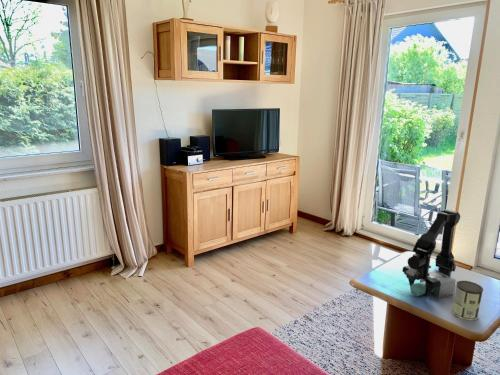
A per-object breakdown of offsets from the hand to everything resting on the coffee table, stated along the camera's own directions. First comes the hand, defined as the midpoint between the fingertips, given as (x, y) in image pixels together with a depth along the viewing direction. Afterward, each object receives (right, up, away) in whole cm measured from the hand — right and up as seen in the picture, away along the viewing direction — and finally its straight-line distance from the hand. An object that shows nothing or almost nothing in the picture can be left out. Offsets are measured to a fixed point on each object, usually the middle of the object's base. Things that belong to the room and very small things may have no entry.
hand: (418, 291), depth 182 cm
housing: (+11, -1, +5) cm, 12 cm away
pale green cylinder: (+3, -1, +2) cm, 4 cm away
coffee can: (+14, -6, -15) cm, 21 cm away
